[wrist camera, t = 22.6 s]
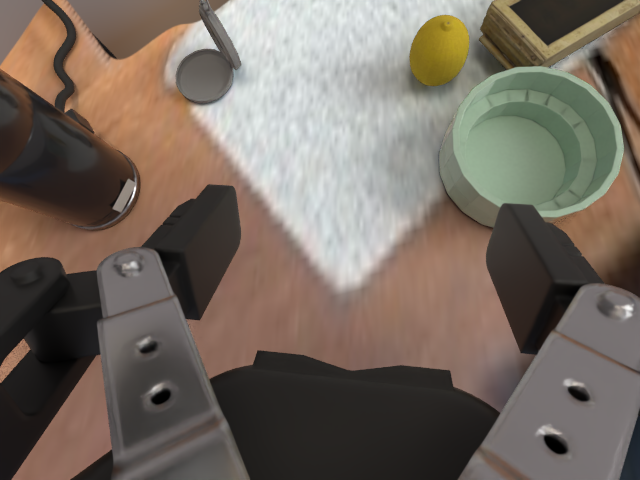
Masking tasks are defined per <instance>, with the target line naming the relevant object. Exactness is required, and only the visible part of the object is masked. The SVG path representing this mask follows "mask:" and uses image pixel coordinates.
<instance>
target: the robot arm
mask: <svg viewBox="0 0 640 480" xmlns="http://www.w3.org/2000/svg"><path fill="white" fill-rule="evenodd" d="M42 1H43V2H44V3H45V4H46V5H47V6H48V7H49V8H50V9H51V10H52V11H53V12H55V13H56V14H57V15H58V16H59V18H60V19H61V20H62V21H63V23H64V25H65V27H66V29H67V37H66V40H65V41H64V43H63V44H62V46H61V47H60V48H59V50H58V51H57V53H56V55H55V58H54V70H55V72H56V74H57V75H58V77H59V78H60V79H61V80H62V82H63V83H64V84H65V88H64V90H62V91H61V92H60V93H59V94H58V95H57V97H56V100H55V107H54V106H53V105H52V104H50V103H49V102H47V101H46V100H44V99H43V98H42V97H40V96H39V95H37V94H36V93H34V92H33V91H32V90H30V89H29V88H27V87H26V86H24V85H23V84H22V83H20V82H19V81H17V80H16V79H14V78H13V77H11V76H10V75H8V74H7V73H5V72H4V71H3V70H1V69H0V201H3V202H6V203H9V204H12V205H15V206H18V207H21V208H24V209H27V210H30V211H33V212H37V213H40V214H43V215H46V216H49V217H52V218H55V219H58V220H61V221H64V222H67V223H70V224H72V225H74V226H76V227H79V228H82V229H86V230H101V229H105V228H109V227H111V226H113V225H115V224H117V223H118V222H120V221H121V220H122V219H124V218H125V217H126V216H127V215H128V214H129V212H130V211H131V210H132V208H133V207H134V205H135V203H136V201H137V198H138V195H139V191H140V177H139V173H138V170H137V168H136V166H135V165H134V163H133V162H132V161H131V160H130V159H129V158H128V157H127V156H126V155H124V154H123V153H121V152H120V151H118V150H116V149H114V148H113V147H111V146H110V145H108V144H107V143H106V142H104V141H103V140H101V139H100V138H99V137H97V136H96V135H94V131H93V129H92V128H91V126H90V124H89V123H88V121H87V120H86V119H85V118H83V117H82V116H81V115H79V114H78V113H77V112H75V111H74V110H73V109H70V110H69V111H67V112H66V113H64V109H65V102H66V100H67V99H68V98H69V97H70V96H71V95H72V94H73V93H74V84H73V82H72V80H71V79H70V78H69V77H68V76H67V74H66V73H65V72H64V70H63V61H64V59H65V57H66V55H67V54H68V53H69V51H70V50H71V48H72V47H73V45H74V43H75V39H76V31H75V28H74V25H73V23H72V21H71V20H70V18H69V17H68V16H67V15H66V13H65V12H64V11H63V10H62V9H61V8H60V7H59V6H58V5H57V4H55V3H54V2H53V1H52V0H42ZM91 33H92V32H91ZM92 34H93V33H92ZM93 36H94V37H95V39H96V40H97V42H98V43H99V45H100V46H101V47H102V49H103V50H104V51H105V52H106V53H107V54H108V55H109V56H110V57H112V58H114V59H117V58H116V57H115V56H114V55H113V54H112V52H110V50H108V48H107V47H106V46H105V45H104V44H103V43H102V42H101V41H100V40H99V39H98V38H97V37H96V36H95V35H94V34H93ZM117 60H118V59H117ZM240 239H241V227H240V219H239V212H238V204H237V197H236V191H235V188H234V187H233V186H227V185H210V184H209V185H207V186H206V187H205V189H204V190H203V191H202V192H201V193H200V195H199V196H198V197H197V198H196V199H190V200H188V201H186V202H185V203H183V204H181V205H179V206H178V207H177V208H176V209H175V210H174V211H173V212H172V213H171V215H170V217H168V218H167V219H166V220H165V221H164V222H163V225H161V226H160V227H159V228H158V229H157V230H156V231H155V232H154V233H153V234H152V235H151V237H150V238H149V239H148V240H147V241H146V242H145V243H144V244H143V245H142V247H134V248H128V249H124V250H121V251H118V252H116V253H113V254H111V255H110V256H108V257H107V258H105V259H104V260H103V261H102V262H101V263H100V264H99V266H98V268H97V270H96V271H87V272H79V273H71V274H66V272H65V270H64V268H63V266H62V264H61V262H60V261H59V260H57V259H54V258H48V257H41V258H34V259H29V260H25V261H22V262H19V263H17V264H14V265H12V266H10V267H8V268H7V269H5V270H3V271H2V272H0V366H1V364H2V362H3V361H4V359H5V358H6V357H7V355H8V354H9V353H10V352H11V351H12V350H13V349H14V348H15V347H16V346H17V345H18V344H19V342H20V341H21V340H22V339H23V338H24V339H25V341H26V343H27V344H28V346H29V347H30V349H31V350H30V351H29V352H28V353H27V354H26V355H25V356H24V358H23V359H22V360H21V361H20V362H19V363H18V364H17V366H16V367H15V368H14V369H13V370H12V371H11V372H10V374H9V375H8V376H7V377H6V378H5V379H4V380H3V382H2V383H0V480H11V479H12V478H13V476H14V475H15V473H16V472H17V471H18V469H19V468H20V466H21V465H22V463H23V462H24V460H25V459H26V457H27V456H28V455H29V453H30V452H31V450H32V449H33V447H34V446H35V444H36V443H37V441H38V440H39V438H40V437H41V436H42V434H43V433H44V431H45V430H46V428H47V427H48V425H49V424H50V422H51V421H52V419H53V418H54V417H55V415H56V414H57V412H58V411H59V409H60V408H61V406H62V405H63V403H64V402H65V400H66V399H67V398H68V396H69V395H70V393H71V392H72V390H73V389H74V387H75V386H76V384H77V383H78V381H79V380H80V379H81V377H82V376H83V374H84V373H85V371H86V370H87V368H88V367H89V365H90V364H91V362H92V361H93V360H94V358H95V357H96V355H100V354H101V362H102V370H103V378H104V386H105V395H106V403H107V411H108V419H109V427H110V436H111V444H112V450H110V451H109V452H108V453H106V454H105V455H104V456H102V457H101V458H99V459H98V460H97V461H95V462H94V463H93V464H91V465H90V466H89V467H87V468H86V469H84V470H83V471H82V472H80V473H79V474H78V475H76V476H75V477H73V478H72V479H71V480H619V477H620V474H621V470H622V467H623V464H624V460H625V457H626V453H627V450H628V446H629V443H630V440H631V436H632V433H633V429H634V426H635V423H636V419H637V416H638V415H639V416H640V298H639V297H637V296H636V295H634V294H632V293H630V292H628V291H626V290H623V289H621V288H618V287H615V286H611V285H606V284H604V282H603V281H602V280H601V278H600V277H599V276H598V275H597V273H596V272H595V271H594V269H593V268H592V267H591V265H590V264H589V263H588V262H587V260H586V259H585V258H584V257H583V256H581V255H582V254H581V252H580V251H579V250H578V249H577V247H574V243H573V242H572V241H571V239H570V238H569V237H568V236H567V234H566V233H565V232H563V231H562V230H560V229H559V228H557V227H556V226H554V225H553V224H551V223H548V222H545V221H544V219H543V218H542V217H541V215H540V214H539V212H538V211H537V210H536V208H535V207H534V206H533V205H529V204H513V203H504V204H502V206H501V207H500V209H499V212H498V215H497V218H496V221H495V225H494V228H493V231H492V234H491V238H490V241H489V244H488V247H487V253H486V264H487V268H488V271H489V273H490V276H491V279H492V281H493V284H494V286H495V289H496V291H497V294H498V296H499V299H500V301H501V304H502V306H503V309H504V311H505V314H506V317H507V319H508V322H509V324H510V327H511V329H512V332H513V334H514V337H515V339H516V342H517V344H518V347H519V349H520V352H521V353H525V354H536V357H535V358H534V360H533V362H532V363H531V365H530V367H529V368H528V370H527V371H526V373H525V375H524V376H523V378H522V380H521V381H520V383H519V384H518V386H517V388H516V389H515V391H514V393H513V394H512V396H511V397H510V399H509V401H508V402H507V404H506V405H505V407H504V409H503V410H502V412H501V413H499V412H498V411H497V410H496V409H494V408H493V407H491V406H490V405H489V404H487V403H486V402H484V401H482V400H481V399H479V398H477V397H475V396H473V395H472V394H469V393H467V392H465V391H463V390H460V389H458V388H455V387H453V384H452V378H451V373H450V371H449V370H440V369H430V368H421V367H411V366H402V365H400V366H392V367H383V368H374V369H366V370H357V371H350V370H346V369H343V368H340V367H337V366H334V365H331V364H328V363H325V362H322V361H319V360H316V359H313V358H310V357H307V356H304V355H297V354H287V353H278V352H268V351H259V350H258V351H257V354H256V357H255V360H254V363H253V365H249V366H244V367H239V368H235V369H232V370H229V371H226V372H224V373H221V374H219V375H217V376H215V377H213V378H211V379H209V378H208V375H207V373H206V370H205V367H204V365H203V362H202V360H201V357H200V355H199V352H198V349H197V347H196V344H195V342H194V339H193V337H192V334H191V331H190V329H189V326H188V324H187V321H186V319H192V320H200V319H201V317H202V315H203V313H204V311H205V310H206V308H207V306H208V304H209V302H210V300H211V298H212V296H213V294H214V293H215V291H216V289H217V287H218V285H219V283H220V281H221V279H222V277H223V276H224V274H225V272H226V270H227V268H228V266H229V264H230V262H231V261H232V259H233V257H234V255H235V253H236V251H237V249H238V247H239V244H240Z"/></svg>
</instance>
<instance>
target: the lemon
mask: <svg viewBox="0 0 640 480" xmlns="http://www.w3.org/2000/svg"><path fill="white" fill-rule="evenodd" d="M468 50H469V35H468V31H467V29H466V27H465V25H464V24H463V23H462V22H461V21H460V20H459V19H457V18H456V17H453V16H450V15H440V16H437V17H434V18H432V19H430V20H429V21H427V22H426V23H425V24H424V25H423V26H422V27H421V28H420V30H419V31H418V33H417V35H416V36H415V38H414V40H413V43H412V46H411V50H410V56H409V57H410V67H411V70H412V73H413V75H414V76H415V77H416V79H417V80H419V81H420V82H421V83H423V84H425V85H429V86H439V85H443V84H445V83H447V82H449V81H451V80H452V79H453V78H454V77H455V76H456V75H457V74H458V73H459V71H460V70H461V69H462V67H463V65H464V63H465V61H466V58H467V55H468Z"/></svg>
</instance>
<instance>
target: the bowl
mask: <svg viewBox="0 0 640 480" xmlns="http://www.w3.org/2000/svg"><path fill="white" fill-rule="evenodd" d="M623 152H624V146H623V139H622V132H621V126H620V123H619V121H618V119H617V118H616V116H615V114H614V112H613V110H612V108H611V106H610V104H609V103H608V102H607V101H606V100H605V99H604V98H603V97H602V96H601V95H600V94H599V93H598V92H597V91H596V90H595V89H594V88H593V87H592V86H591V85H590V84H588V83H586V82H585V81H583V80H581V79H579V78H577V77H575V76H574V75H572V74H570V73H567V72H564V71H560V70H556V69H551V68H547V67H543V66H533V67H515V68H512V69H509V70H506V71H503V72H500V73H496V74H493V75H491V76H490V77H488V78H487V79H486V80H484V81H483V82H481V83H480V84H478V85H477V86H475V87H474V88H473V89H472V90H471V91H470V93H469V94H468V95H467V97H466V98H465V99H464V101H463V102H462V103H461V105H460V106H459V108H458V110H457V112H456V114H455V116H454V118H453V120H452V121H451V123H450V125H449V127H448V129H447V131H446V133H445V135H444V139H443V142H442V145H441V148H440V152H439V168H440V176H441V178H442V181H443V183H444V186H445V188H446V191H447V193H448V195H449V196H450V197H451V198H452V200H453V201H454V202H455V203H456V204H457V206H458V207H459V208H460V209H461V211H462V212H464V213H465V214H467V215H468V216H470V217H471V218H473V219H474V220H476V221H477V222H479V223H480V224H483V225H486V226H490V227H493V228H494V225H495V221H496V218H497V215H498V212H499V209H500V207H501V206H502V204H504V203H513V204H529V205H533V206H534V207H535V208H536V210H537V211H538V212H539V214H540V215H541V217H542V218H543V219H544V221H545V222H548V223H551V224H553V223H555V222H557V221H559V220H561V219H564V218H566V217H568V216H570V215H572V214H574V213H577V212H579V211H581V210H583V209H585V208H586V207H588V206H589V205H590V204H592V203H593V202H595V201H596V200H597V199H599V198H600V197H601V196H603V195H604V194H605V193H606V191H607V190H608V188H609V187H610V185H611V184H612V182H613V181H614V179H615V178H616V177H617V175H618V173H619V170H620V165H621V161H622V156H623Z"/></svg>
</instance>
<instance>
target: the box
mask: <svg viewBox="0 0 640 480" xmlns="http://www.w3.org/2000/svg"><path fill="white" fill-rule="evenodd" d="M639 12H640V0H495V1H493V2H492V3H491V5H490V7H489V8H488V10H487V13H486V14H487V15H486V16H485V18H484V20H483V21H484V22H483V24H482V26H481V28H480V30H481V31H482V33H483V35H482V36H481V37H480V38H479V41H480V42H481V43H482V44H483V45H484V47H485V48H486V49H487V50H488V51H489V52H490V53H491V54H492V55H493V56H494V57H495V58H496V59H497V60H498V61H499V62H500V63H501V64H502V66H503V67H504V68H505V69H506V70H509V69H512V68H515V67H533V66H543V67H547V68H548V67H549V66H551V65H553V64H555V63H556V62H558V61H559V60H561V59H563V58H565V57H566V56H568V55H570V54H571V53H573V52H574V51H576V50H578V49H579V48H581V47H583V46H584V45H586V44H588V43H589V42H591V41H593V40H594V39H596V38H598V37H600V36H601V35H603V34H605V33H606V32H608V31H610V30H611V29H613V28H615V27H616V26H618V25H620V24H621V23H623V22H624V21H626V20H628V19H629V18H631V17H633V16H634V15H636V14H638V13H639Z"/></svg>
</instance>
